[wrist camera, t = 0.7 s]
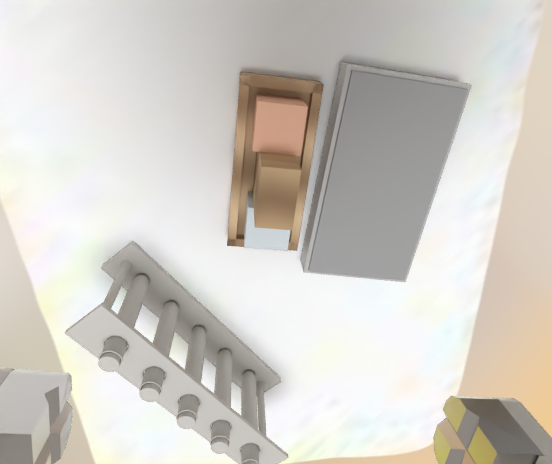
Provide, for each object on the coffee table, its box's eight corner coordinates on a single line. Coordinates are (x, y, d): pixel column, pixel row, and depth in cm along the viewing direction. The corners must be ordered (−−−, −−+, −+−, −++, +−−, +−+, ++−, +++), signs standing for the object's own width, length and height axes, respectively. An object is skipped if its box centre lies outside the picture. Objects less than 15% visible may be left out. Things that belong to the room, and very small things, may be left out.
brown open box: (240, 71, 37) (240, 85, 29) (318, 80, 38) (341, 97, 29) (228, 234, 44) (224, 284, 35) (294, 239, 45) (306, 289, 36)
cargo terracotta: (256, 93, 37) (257, 101, 33) (301, 98, 37) (307, 106, 33) (251, 139, 38) (252, 151, 35) (295, 143, 39) (300, 156, 35)
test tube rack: (102, 264, 44) (51, 351, 32) (133, 240, 43) (92, 321, 31) (253, 394, 54) (256, 498, 42) (280, 377, 53) (291, 478, 41)
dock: (341, 61, 37) (348, 64, 34) (458, 81, 38) (474, 85, 36) (300, 259, 45) (304, 274, 43) (397, 269, 47) (406, 284, 44)
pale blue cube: (247, 191, 40) (248, 207, 37) (288, 194, 41) (293, 211, 37) (244, 228, 42) (244, 247, 39) (283, 231, 43) (287, 250, 39)
